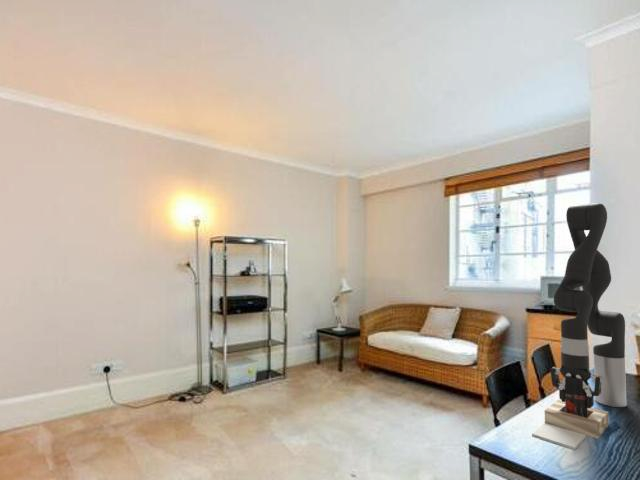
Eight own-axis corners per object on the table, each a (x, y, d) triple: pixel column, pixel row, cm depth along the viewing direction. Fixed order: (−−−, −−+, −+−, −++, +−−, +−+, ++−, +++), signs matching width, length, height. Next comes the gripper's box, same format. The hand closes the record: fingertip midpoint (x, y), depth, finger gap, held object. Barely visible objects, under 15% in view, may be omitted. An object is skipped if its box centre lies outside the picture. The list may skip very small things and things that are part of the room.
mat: (545, 424, 120) (544, 422, 120) (586, 437, 112) (586, 435, 112) (532, 435, 112) (532, 433, 112) (575, 449, 104) (575, 447, 104)
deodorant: (591, 428, 117) (590, 379, 118) (570, 427, 118) (569, 378, 119) (582, 420, 123) (581, 374, 124) (562, 419, 124) (561, 373, 125)
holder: (559, 411, 130) (558, 399, 131) (609, 424, 120) (608, 411, 120) (544, 422, 121) (544, 410, 121) (597, 438, 111) (597, 424, 111)
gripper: (604, 354, 119) (606, 408, 118) (553, 346, 129) (554, 395, 129) (598, 358, 114) (600, 414, 113) (545, 349, 124) (547, 401, 124)
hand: (576, 404), depth 121 cm, fingers open, 6 cm apart
